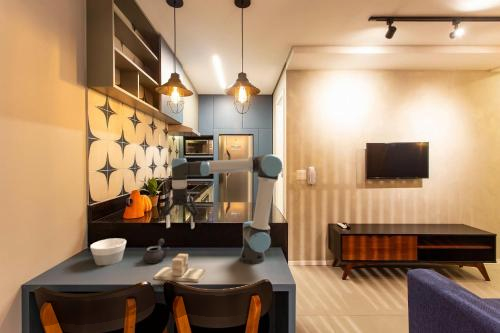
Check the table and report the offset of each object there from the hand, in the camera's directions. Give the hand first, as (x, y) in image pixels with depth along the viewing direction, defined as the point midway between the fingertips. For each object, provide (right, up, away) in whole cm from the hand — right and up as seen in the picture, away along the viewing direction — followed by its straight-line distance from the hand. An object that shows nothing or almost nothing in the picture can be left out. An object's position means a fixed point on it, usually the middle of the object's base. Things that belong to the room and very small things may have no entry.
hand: (180, 227), depth 135 cm
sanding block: (0, -24, +1) cm, 24 cm away
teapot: (-21, -25, +24) cm, 40 cm away
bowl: (-49, -25, +20) cm, 59 cm away
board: (0, -26, +1) cm, 26 cm away
